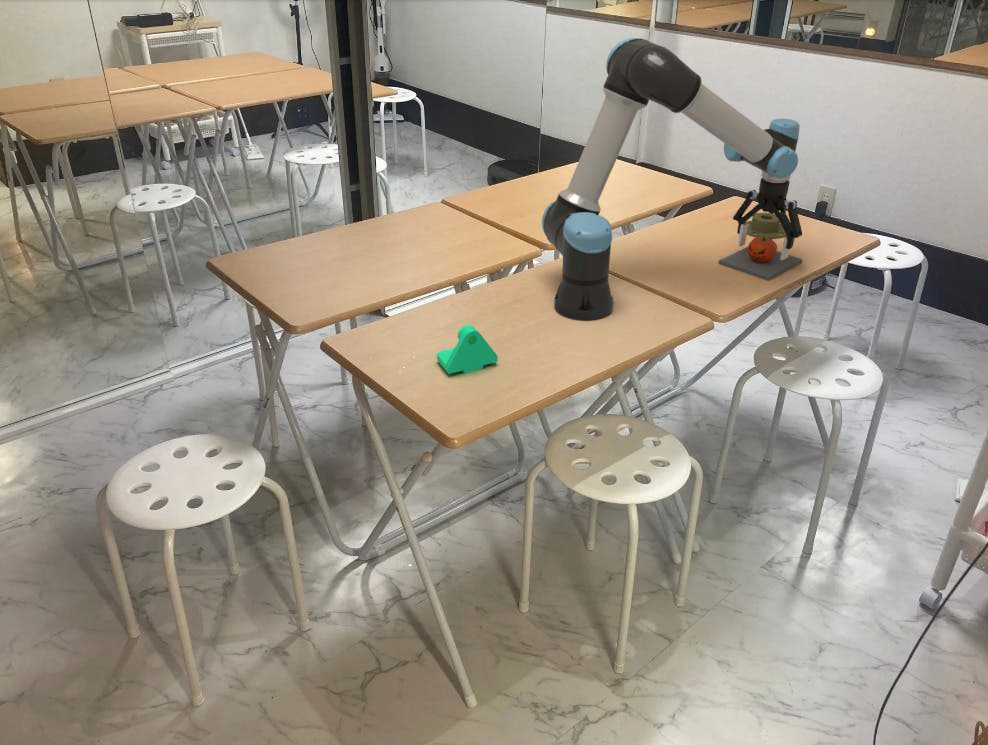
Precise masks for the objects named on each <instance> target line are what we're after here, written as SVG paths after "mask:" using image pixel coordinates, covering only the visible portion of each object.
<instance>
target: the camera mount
mask: <svg viewBox="0 0 988 745" xmlns="http://www.w3.org/2000/svg"><path fill="white" fill-rule="evenodd" d="M457 339H458V340H457V343H456V344H455V347H453V348H449V349H445V350H440V351H437V352H436V360H437V362H438V363H439V364H440V365H441V367H442V368H443V369H444V370H445V371H446V372H447V374H448V375H450V374H454V373H458V372H462V373H463V374H464V375H465V374H468V373H472V372H475V371H480V370H484V366H486V365H489V364H494V363H497V362H498V360H499V359H498V358H499V357H498V354H497V353H496V352H495V351H494V350H493V348H492V347H491V346H490V344H489V343H488V342H487V340H486V339H485V338H484V337H483V335H482V334H481V332H480V331H478V330H477V329H476V327H474V326H473V325H471V324H466V325H463V326H461V327H460V328H459V330H458V332H457Z"/></svg>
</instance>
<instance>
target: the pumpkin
mask: <svg viewBox="0 0 988 745" xmlns="http://www.w3.org/2000/svg"><path fill="white" fill-rule="evenodd" d="M747 247H748V254H749V256H750V257H751V258H752V259H753V260H755V261H758V262H766V261H770V260H771V259H772V258H773V257H774V255H775V254H776V252H777V251H778V245H777V243H776V241H775V240H774V239H769V238H767V237H765V236H764V237H758V238H756V237H753V238H752V240H751V241H750V242H749V243H748V245H747Z"/></svg>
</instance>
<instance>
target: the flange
mask: <svg viewBox="0 0 988 745" xmlns="http://www.w3.org/2000/svg"><path fill="white" fill-rule="evenodd" d="M745 223H748V229H747V235H746V236H749V237H753V238H758V237H764V236H765V237H767V238H769V239H772V240H777V239H784V238H785V237H787V235H786V233H785V231H784V229H783V227H782V225H781V223H780V221H779V219H778V217H776V215H775V213H773V214H771V213H769V212H757V213H756V214H754V215H753V216H752V217H751V220H747V221H746V222H745Z"/></svg>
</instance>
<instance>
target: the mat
mask: <svg viewBox="0 0 988 745" xmlns="http://www.w3.org/2000/svg"><path fill="white" fill-rule="evenodd" d="M781 252H782V251H778V250H777V252H776V254H775V255H774V257H773V258H772V259H771V260H770V261H766V262H758V261H755V260H753V259H752V258H751V257H750V256H749V254H748V246H745V247H744V248H742V249H741V250H738V251H736V252H734V253H732V254H729V255H728V256H726V257H723V258H721V259H719V260H718V264H719V265H722V266H725V267H728V268H730V269H733V270H736V271H739V272H742V273H745V274H748V275H751V276H754V277H756V278H759V279H763V280H766V281H771V280H772V279H774V278H776V277H778V276H781V274H783V273H786V272H787V271H789V270H791V269H793V268H795V267H797V266H798V265H800V264H802V263H803V260H804V259H803V258H799V257H796V256H793V255H791V254H790V255H789V254H788V258H786V259H784V260H780V257H781Z"/></svg>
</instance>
